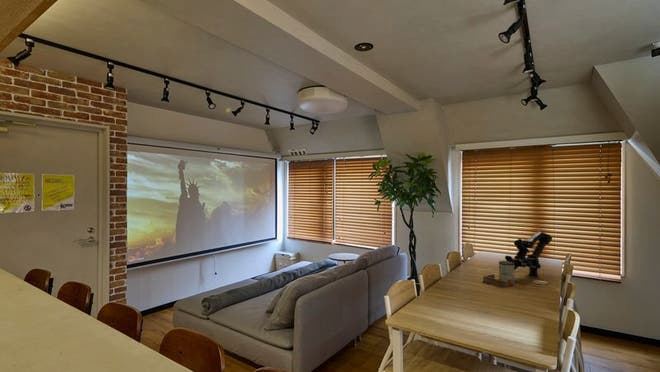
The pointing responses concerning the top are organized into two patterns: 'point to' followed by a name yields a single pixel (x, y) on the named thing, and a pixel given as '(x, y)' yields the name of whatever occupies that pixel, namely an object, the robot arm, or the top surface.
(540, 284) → the cork mat
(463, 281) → the top surface
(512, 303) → the top surface
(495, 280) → the walnut holder
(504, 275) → the coffee can
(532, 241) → the robot arm
